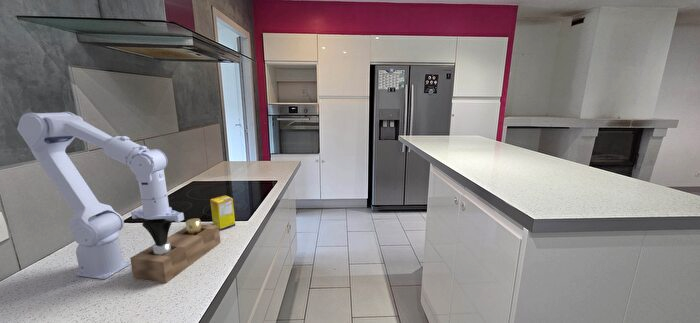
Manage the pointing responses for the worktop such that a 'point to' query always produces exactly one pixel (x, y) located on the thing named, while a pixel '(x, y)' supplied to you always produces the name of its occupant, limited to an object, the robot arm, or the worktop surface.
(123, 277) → the worktop surface
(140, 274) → the walnut peg board
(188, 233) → the brass peg
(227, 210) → the supplement box
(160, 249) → the steel peg
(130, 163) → the robot arm
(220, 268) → the worktop surface
